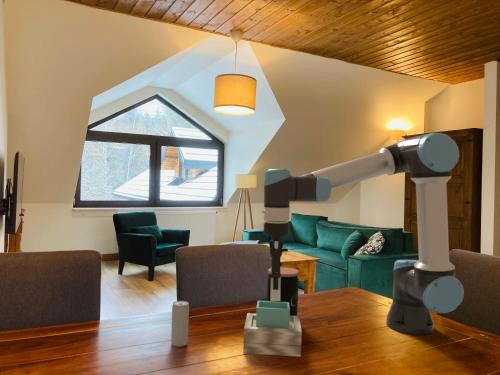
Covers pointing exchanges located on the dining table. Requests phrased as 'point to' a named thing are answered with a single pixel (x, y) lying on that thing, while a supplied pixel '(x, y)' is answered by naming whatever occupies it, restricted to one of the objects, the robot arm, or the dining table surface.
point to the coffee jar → (287, 288)
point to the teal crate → (272, 314)
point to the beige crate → (272, 338)
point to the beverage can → (180, 323)
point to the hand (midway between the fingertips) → (275, 293)
